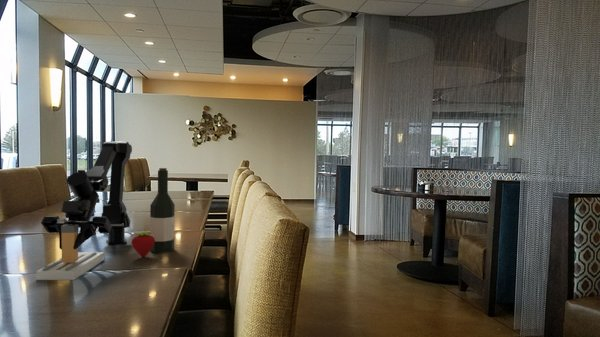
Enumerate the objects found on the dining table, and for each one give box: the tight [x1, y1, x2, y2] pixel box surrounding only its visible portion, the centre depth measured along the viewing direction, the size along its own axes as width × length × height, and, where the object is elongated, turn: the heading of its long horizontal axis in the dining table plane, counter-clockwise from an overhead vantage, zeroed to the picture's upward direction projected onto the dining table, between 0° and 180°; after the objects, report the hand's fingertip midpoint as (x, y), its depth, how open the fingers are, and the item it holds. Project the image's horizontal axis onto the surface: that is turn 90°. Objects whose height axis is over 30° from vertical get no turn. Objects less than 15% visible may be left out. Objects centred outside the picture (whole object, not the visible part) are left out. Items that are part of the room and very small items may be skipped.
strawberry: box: [131, 228, 155, 258], centre depth 134 cm, size 6×8×10 cm
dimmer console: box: [36, 251, 105, 281], centre depth 119 cm, size 20×10×3 cm, turn 5°
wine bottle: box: [149, 167, 176, 254], centre depth 143 cm, size 8×8×30 cm
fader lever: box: [61, 224, 79, 263], centre depth 117 cm, size 3×4×11 cm
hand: (67, 248), depth 116 cm, fingers closed on fader lever, 3 cm apart
